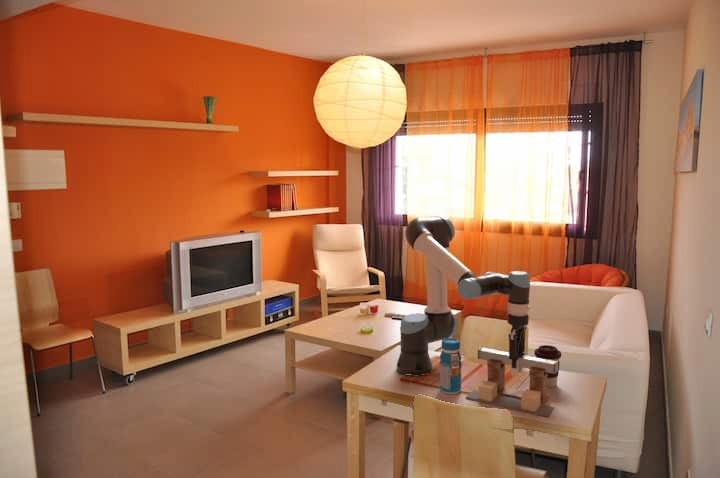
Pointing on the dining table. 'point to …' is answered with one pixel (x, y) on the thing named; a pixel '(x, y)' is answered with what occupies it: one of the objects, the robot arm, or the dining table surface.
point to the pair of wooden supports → (536, 384)
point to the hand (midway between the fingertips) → (516, 373)
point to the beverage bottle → (450, 366)
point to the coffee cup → (549, 354)
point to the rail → (523, 360)
